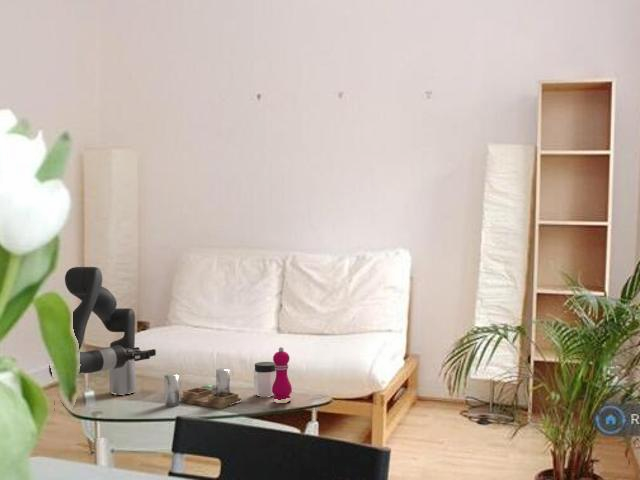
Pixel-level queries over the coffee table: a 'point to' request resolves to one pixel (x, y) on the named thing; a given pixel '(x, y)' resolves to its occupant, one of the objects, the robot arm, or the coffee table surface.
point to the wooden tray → (208, 398)
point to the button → (208, 386)
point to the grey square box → (211, 388)
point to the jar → (264, 378)
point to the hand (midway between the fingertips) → (146, 351)
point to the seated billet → (223, 382)
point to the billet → (171, 390)
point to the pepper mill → (281, 376)
